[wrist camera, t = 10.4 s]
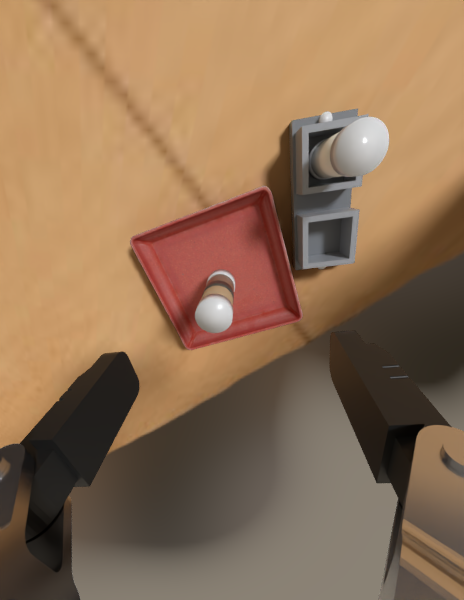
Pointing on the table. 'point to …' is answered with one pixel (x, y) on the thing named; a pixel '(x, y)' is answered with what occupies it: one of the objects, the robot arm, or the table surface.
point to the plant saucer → (222, 266)
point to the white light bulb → (350, 150)
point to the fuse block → (321, 198)
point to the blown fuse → (216, 302)
